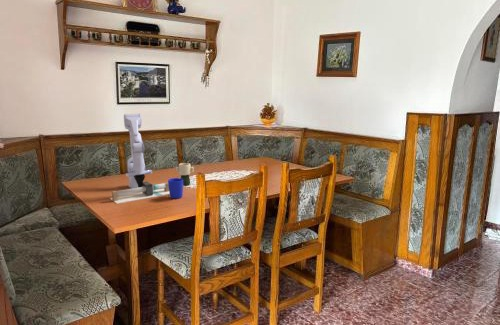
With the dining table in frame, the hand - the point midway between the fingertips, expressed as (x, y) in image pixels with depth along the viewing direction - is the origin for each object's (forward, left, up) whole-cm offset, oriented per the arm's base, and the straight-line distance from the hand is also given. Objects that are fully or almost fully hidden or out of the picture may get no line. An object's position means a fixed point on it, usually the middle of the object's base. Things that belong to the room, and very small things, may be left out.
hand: (140, 187), depth 225 cm
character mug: (-5, +31, -4) cm, 31 cm away
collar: (+3, +3, -4) cm, 6 cm away
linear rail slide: (+3, 0, -4) cm, 5 cm away
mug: (+15, +15, -4) cm, 22 cm away
